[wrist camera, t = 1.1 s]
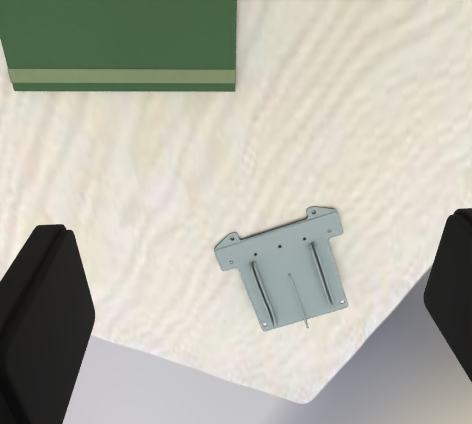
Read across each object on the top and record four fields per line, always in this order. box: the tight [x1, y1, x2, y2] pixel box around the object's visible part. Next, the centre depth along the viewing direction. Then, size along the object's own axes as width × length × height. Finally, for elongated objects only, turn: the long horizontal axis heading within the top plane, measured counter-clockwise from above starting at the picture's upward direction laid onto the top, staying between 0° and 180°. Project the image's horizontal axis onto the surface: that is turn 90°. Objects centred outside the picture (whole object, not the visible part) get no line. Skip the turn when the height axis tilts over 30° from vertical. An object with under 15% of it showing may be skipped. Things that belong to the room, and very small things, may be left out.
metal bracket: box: [214, 207, 348, 331], centre depth 50 cm, size 14×6×15 cm
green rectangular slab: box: [0, 0, 237, 91], centre depth 35 cm, size 10×20×2 cm, turn 89°
